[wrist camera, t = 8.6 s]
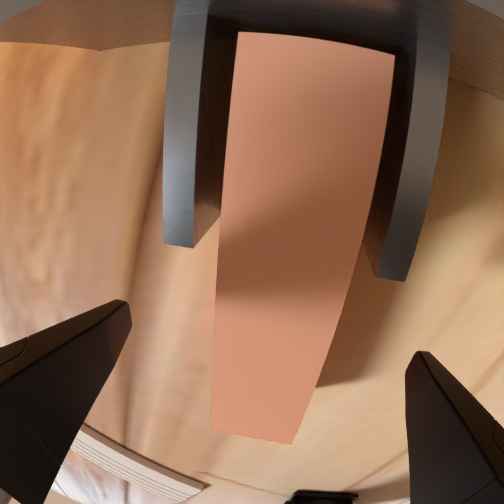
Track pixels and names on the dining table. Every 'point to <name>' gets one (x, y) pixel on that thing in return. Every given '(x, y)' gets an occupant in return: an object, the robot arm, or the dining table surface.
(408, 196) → the bracket
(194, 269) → the dining table surface
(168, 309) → the dining table surface
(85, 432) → the baseboard
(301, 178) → the rail
